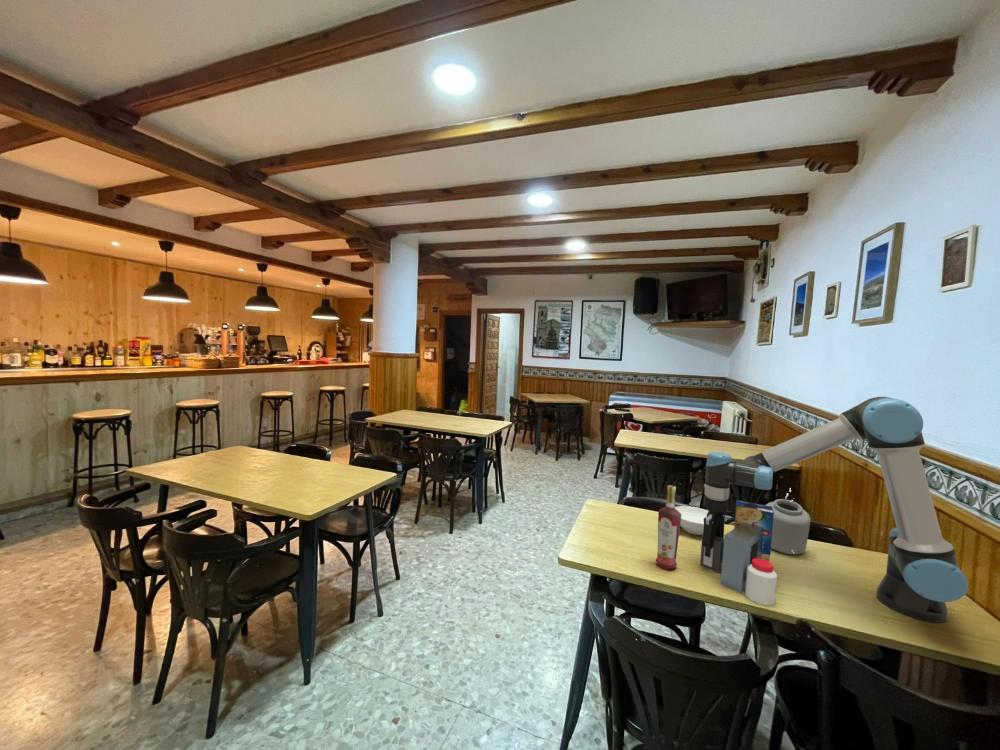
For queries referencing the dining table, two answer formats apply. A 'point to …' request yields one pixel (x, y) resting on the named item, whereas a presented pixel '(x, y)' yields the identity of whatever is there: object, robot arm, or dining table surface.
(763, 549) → the blue food box
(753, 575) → the pill bottle
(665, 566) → the red glass bottle
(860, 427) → the robot arm
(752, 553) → the block
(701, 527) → the bowl
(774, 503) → the jar
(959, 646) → the dining table surface
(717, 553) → the hammer
